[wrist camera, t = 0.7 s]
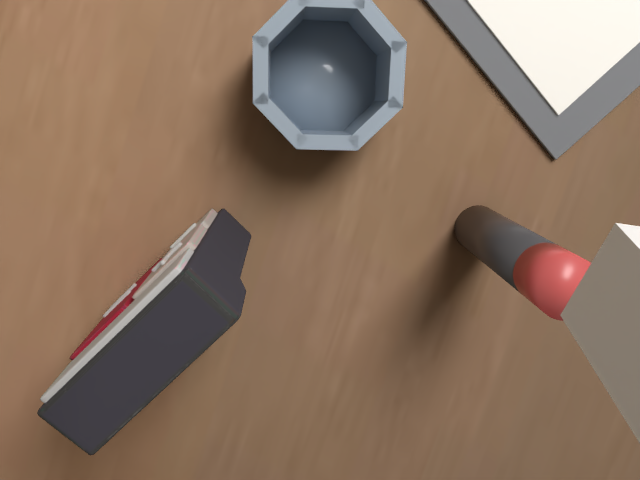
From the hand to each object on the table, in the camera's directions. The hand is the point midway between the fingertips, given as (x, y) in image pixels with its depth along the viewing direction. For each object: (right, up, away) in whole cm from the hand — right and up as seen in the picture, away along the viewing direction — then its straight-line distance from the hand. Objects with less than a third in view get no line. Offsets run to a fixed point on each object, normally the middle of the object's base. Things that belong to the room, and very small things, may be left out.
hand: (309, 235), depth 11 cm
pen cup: (0, +11, +26) cm, 29 cm away
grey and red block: (-10, -2, +29) cm, 31 cm away
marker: (+12, +1, +30) cm, 32 cm away
